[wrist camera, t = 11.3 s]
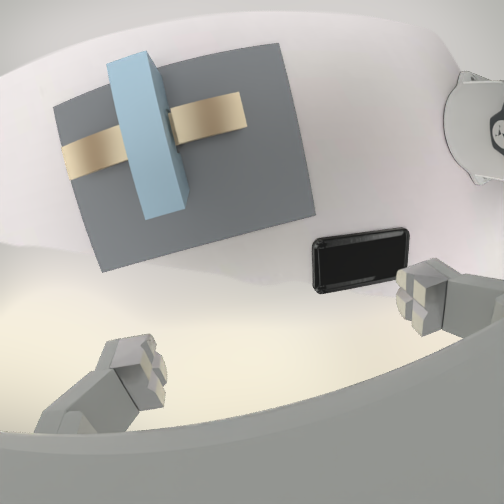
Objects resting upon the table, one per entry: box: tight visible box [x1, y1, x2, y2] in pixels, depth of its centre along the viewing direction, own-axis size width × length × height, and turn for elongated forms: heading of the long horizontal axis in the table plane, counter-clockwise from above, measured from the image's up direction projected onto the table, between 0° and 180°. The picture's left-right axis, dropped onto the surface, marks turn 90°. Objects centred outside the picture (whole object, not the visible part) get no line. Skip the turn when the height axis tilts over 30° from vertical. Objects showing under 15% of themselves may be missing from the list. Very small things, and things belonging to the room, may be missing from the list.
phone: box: [312, 227, 410, 294], centre depth 43 cm, size 8×1×15 cm
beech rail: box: [61, 92, 247, 180], centre depth 31 cm, size 18×4×7 cm, turn 103°
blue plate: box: [106, 51, 190, 220], centre depth 29 cm, size 4×14×11 cm, turn 13°
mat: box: [53, 43, 316, 273], centre depth 35 cm, size 28×22×1 cm
